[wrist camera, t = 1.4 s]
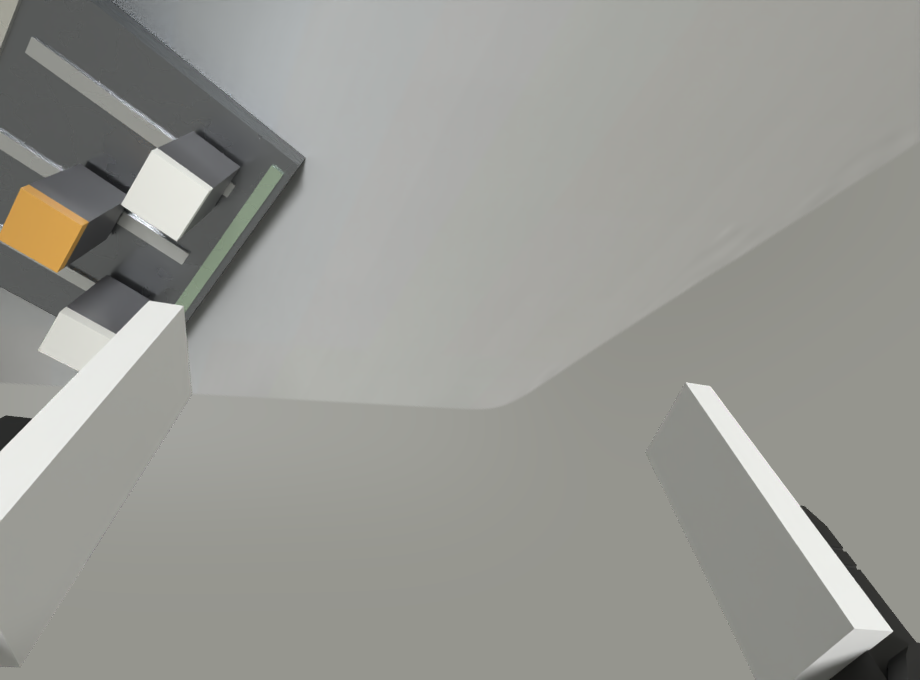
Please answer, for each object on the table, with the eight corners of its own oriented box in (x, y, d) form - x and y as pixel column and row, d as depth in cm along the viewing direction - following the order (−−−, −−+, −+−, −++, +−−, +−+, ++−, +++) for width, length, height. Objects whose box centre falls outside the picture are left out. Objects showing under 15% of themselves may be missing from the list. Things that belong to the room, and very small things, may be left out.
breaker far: (85, 310, 34) (37, 350, 30) (107, 274, 33) (59, 311, 29) (129, 334, 36) (88, 376, 31) (151, 300, 34) (112, 340, 30)
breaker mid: (56, 208, 31) (-3, 238, 26) (79, 163, 29) (20, 187, 25) (106, 239, 32) (57, 272, 28) (130, 197, 31) (82, 225, 26)
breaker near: (164, 178, 30) (120, 204, 26) (192, 130, 29) (151, 150, 24) (211, 211, 31) (176, 241, 27) (240, 166, 30) (208, 191, 26)
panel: (-70, 223, 33) (-99, 235, 31) (38, -58, 26) (8, -64, 24) (164, 353, 40) (151, 369, 38) (305, 158, 32) (297, 166, 30)
